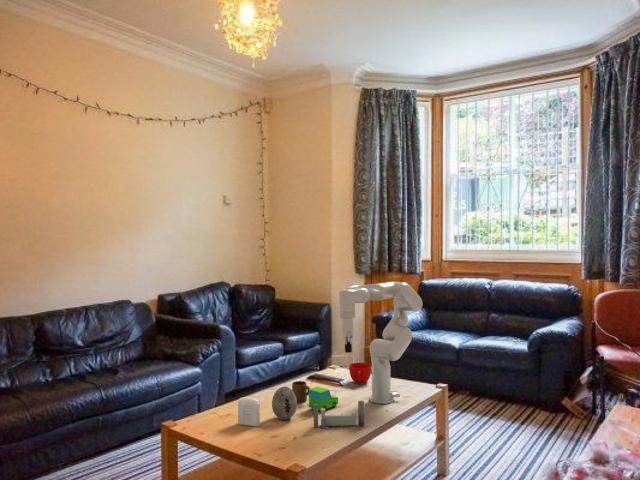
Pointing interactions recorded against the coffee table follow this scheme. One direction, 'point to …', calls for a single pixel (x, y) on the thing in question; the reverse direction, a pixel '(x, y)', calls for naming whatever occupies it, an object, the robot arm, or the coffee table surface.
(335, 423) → the gate
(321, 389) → the green toy car
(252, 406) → the photo printer
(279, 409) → the decorative egg
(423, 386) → the coffee table surface
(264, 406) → the coffee table surface
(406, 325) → the robot arm
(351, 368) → the ceramic cup
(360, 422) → the gate posts
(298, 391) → the mug
